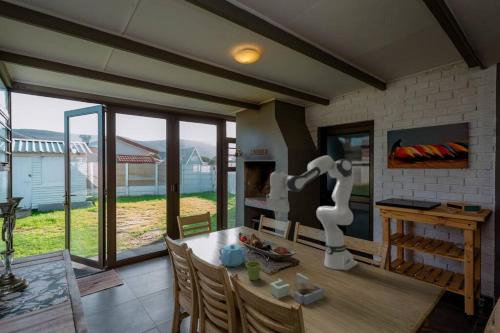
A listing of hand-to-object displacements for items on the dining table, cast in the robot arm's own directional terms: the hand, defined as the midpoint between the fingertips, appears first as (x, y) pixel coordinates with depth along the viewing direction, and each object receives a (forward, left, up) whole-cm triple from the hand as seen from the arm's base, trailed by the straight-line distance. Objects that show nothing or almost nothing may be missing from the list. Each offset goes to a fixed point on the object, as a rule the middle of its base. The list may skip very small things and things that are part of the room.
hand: (277, 217), depth 160 cm
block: (+10, +34, -34) cm, 49 cm away
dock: (+8, +36, -34) cm, 50 cm away
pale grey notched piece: (+11, +24, -34) cm, 43 cm away
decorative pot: (+21, -26, -34) cm, 48 cm away
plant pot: (+20, +1, -34) cm, 40 cm away
